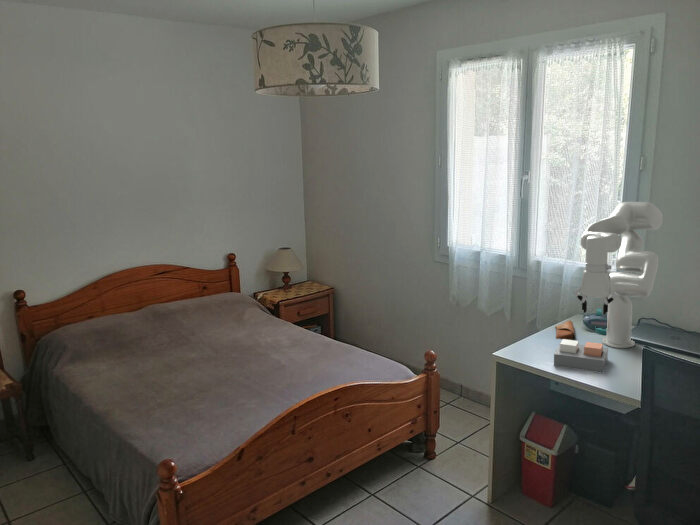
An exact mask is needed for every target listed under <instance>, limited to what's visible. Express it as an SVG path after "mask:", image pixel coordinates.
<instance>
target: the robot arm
mask: <svg viewBox="0 0 700 525" xmlns="http://www.w3.org/2000/svg"><path fill="white" fill-rule="evenodd" d="M663 218H664V217H663V213H662V212H661V210H660V209H658V207H657V206H656V205H655V204H653V203H652V202H649V201H623V202H621V203H619V204H618V205H617V206H616V207H615V209H614V210H613V211H612V213H611V214H610V215H609V216H608V217H606V218H603V219H600V220H599V221H598V220H597V221H596V222H593V223H591V224H590V225H588V226H587V228H586V229H585V230H584V232H583V233H582V235H581V238H580V245H581V247H582V248H583V250H585V269H584V270H583V273H582V277H581V286H578V288H576V289H575V290H573V294H574V295H575V296H576V297H577V299H578V300H579V301H580V302H581V310H582V311H583V313H584V314H585V313H587V310H588V308H587V306H588V301H587V298H600V299H602V300H603V302H604V303H603V305H602V306H603V307H602V308H603V309H602V315H604V316H605V315H606V319H607V335H605V337H602V340H601V342H602V344H603V345H605V346H608V347H611V348H616V349H617V348H619V349H629V348H632V347H634V346H635V344H636V342H635V340H634V339H632V322H633V321H632V320H633V303H632V300H631V299H630V298H629V297H637V298H648V297H649V296H650V295H651V294H652V291H653V287H654V284H655V279H656V276H657V271H658V268H659V258H658V257H659V256H658V254H656V253H655V252H653V251H647V250H643V246H644V241H643V240H644V239H643V238H642V237H641V235H640V234H639V233H638V232H637V231H636V230H643V231H645V230H646V231H654V230H655V231H656V230H659V229H660V228H661V227H662V225H663V221H664V220H663ZM617 251H618V252H617ZM615 252H617V256H616V260H615V267H616V268H617V270H619V271H612V272H611V273H610V271H609V270H612V265H609V263H608V254H609V253H615ZM631 339H632V340H631ZM633 340H634V341H633Z"/></svg>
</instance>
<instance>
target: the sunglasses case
mask: <svg viewBox="0 0 700 525" xmlns="http://www.w3.org/2000/svg"><path fill="white" fill-rule="evenodd" d="M575 332H576V331H575V326H574V323H573V321H572V320H567V321H565V322H563V323H561V324H558V325H555V333H556V334H555V339H556V340H563V339H566V340H575V339H576V333H575Z"/></svg>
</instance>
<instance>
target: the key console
mask: <svg viewBox="0 0 700 525" xmlns="http://www.w3.org/2000/svg"><path fill="white" fill-rule="evenodd" d="M584 346H585V345H584V344H580V343H578V351H577V353H569V352H562V351H560V343H559V345H558V346H557V348H556V350H555V352H554V354H553V366H554V367H561V368H562V367H563V368H568V369H573V370H574V369H575V370H580V371H587V372H588V371H589V372H594V373H595V372H596V373H601V374H604V372H605V368H606V366H607V362H608V360H609V359H608V356H609V347H603V353H602V355H601V357H600V356H592V355H584Z"/></svg>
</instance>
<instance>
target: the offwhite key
mask: <svg viewBox="0 0 700 525" xmlns="http://www.w3.org/2000/svg"><path fill="white" fill-rule="evenodd" d="M559 344H560V351H562V352H569V353H577V351H578V344H580V343H579V340H575V339H574V340H571V339H561V341H560V343H559Z"/></svg>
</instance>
